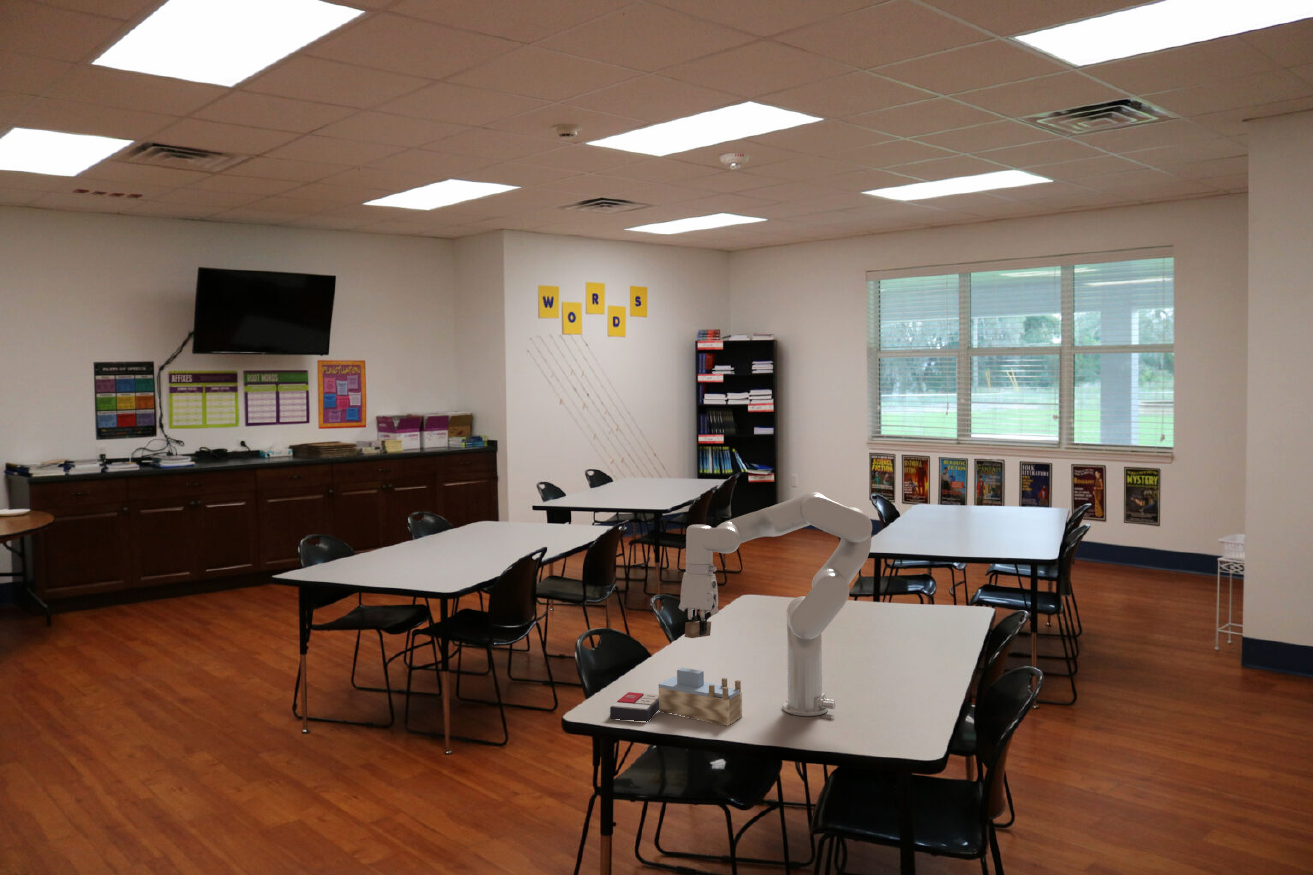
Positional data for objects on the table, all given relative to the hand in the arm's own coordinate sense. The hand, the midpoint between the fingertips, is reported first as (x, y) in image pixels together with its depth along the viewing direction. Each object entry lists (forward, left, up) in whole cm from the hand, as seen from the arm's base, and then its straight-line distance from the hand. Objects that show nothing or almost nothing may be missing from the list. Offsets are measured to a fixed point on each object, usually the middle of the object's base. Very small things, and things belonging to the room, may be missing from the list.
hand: (698, 632), depth 262 cm
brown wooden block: (0, +1, -1) cm, 1 cm away
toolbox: (-3, +5, -22) cm, 22 cm away
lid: (-3, +5, -15) cm, 16 cm away
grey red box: (+13, +12, -22) cm, 28 cm away
